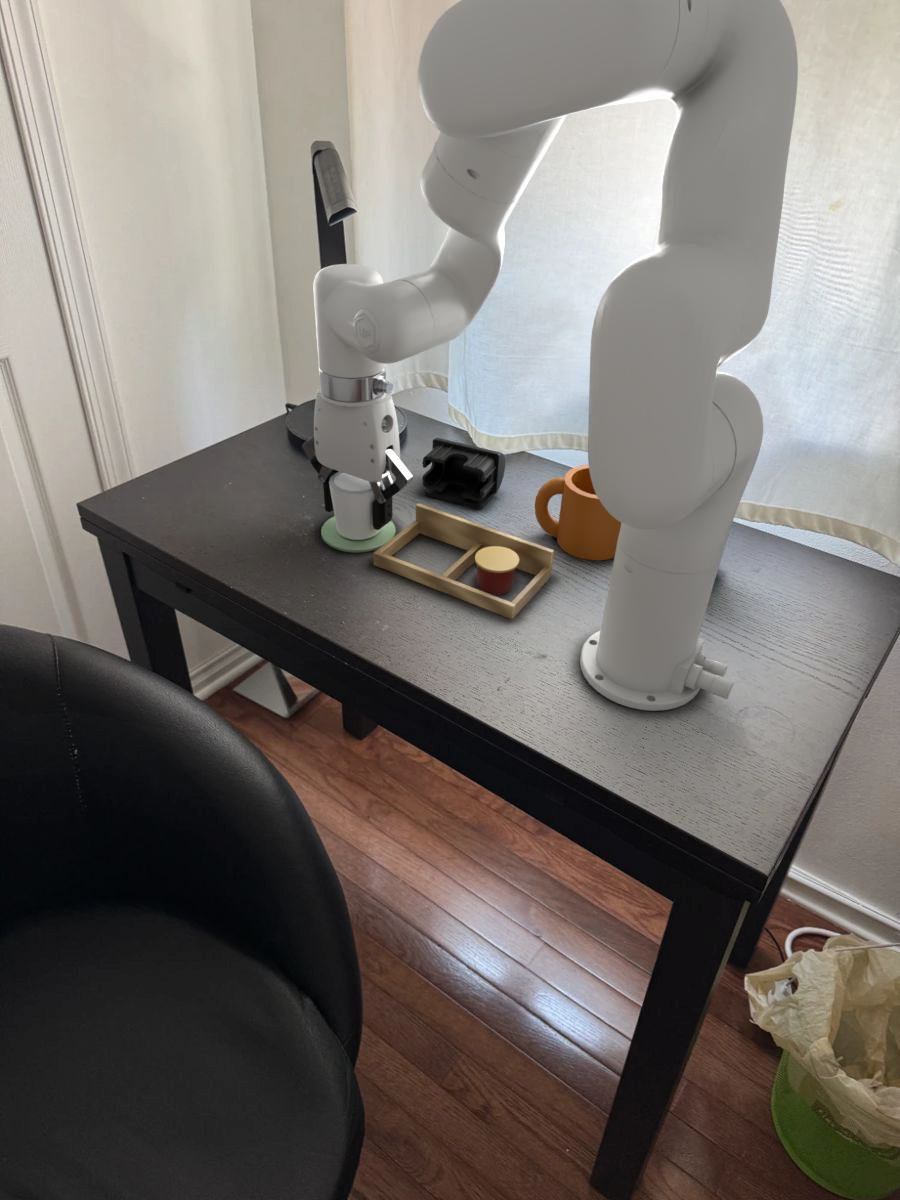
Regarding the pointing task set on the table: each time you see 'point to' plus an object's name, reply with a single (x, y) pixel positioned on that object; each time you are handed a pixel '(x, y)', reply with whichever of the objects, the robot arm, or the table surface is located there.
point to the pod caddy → (466, 558)
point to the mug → (578, 517)
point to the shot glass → (353, 506)
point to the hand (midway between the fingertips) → (358, 515)
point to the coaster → (356, 546)
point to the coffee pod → (496, 569)
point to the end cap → (462, 473)
